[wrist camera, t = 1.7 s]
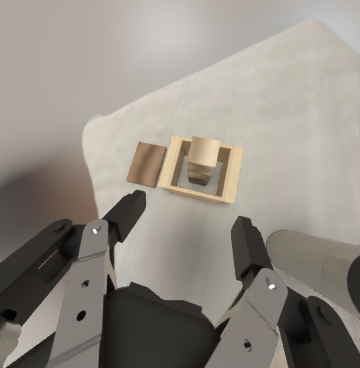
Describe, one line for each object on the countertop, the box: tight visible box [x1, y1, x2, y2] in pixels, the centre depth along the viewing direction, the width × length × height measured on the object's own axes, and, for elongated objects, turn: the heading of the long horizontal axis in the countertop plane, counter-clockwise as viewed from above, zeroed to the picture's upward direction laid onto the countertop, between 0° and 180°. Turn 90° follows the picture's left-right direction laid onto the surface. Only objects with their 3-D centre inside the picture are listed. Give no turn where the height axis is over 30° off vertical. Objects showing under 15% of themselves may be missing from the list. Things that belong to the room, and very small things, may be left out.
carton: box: [158, 136, 243, 204], centre depth 34 cm, size 18×14×8 cm
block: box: [187, 136, 221, 186], centre depth 30 cm, size 5×5×16 cm
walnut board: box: [126, 142, 167, 188], centre depth 39 cm, size 9×13×2 cm
